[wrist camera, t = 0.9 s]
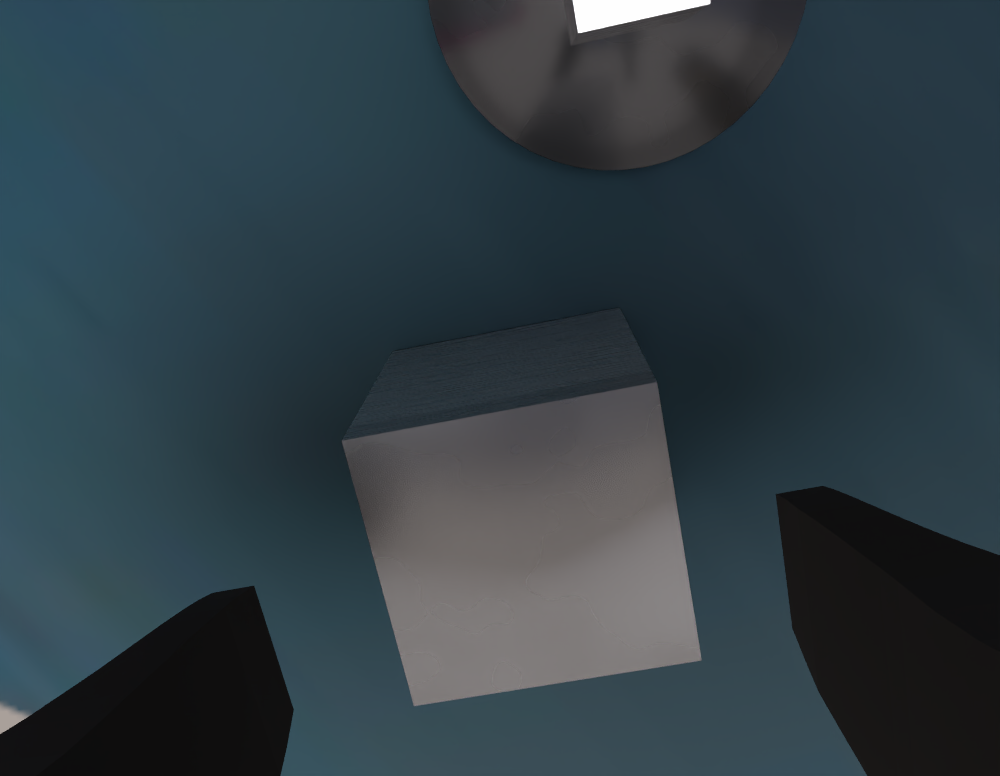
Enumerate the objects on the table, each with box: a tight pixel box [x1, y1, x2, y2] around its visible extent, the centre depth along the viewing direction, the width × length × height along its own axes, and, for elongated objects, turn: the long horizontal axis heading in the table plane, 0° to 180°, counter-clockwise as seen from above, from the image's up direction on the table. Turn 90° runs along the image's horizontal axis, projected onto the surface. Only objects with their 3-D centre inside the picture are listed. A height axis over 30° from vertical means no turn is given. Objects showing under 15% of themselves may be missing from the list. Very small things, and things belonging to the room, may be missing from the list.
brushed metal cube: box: [342, 308, 701, 706], centre depth 16 cm, size 5×5×5 cm
